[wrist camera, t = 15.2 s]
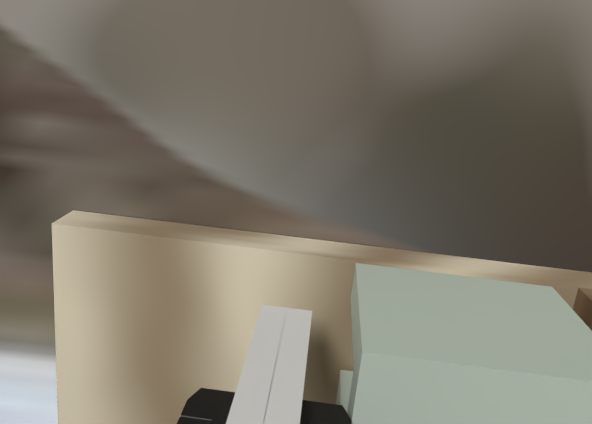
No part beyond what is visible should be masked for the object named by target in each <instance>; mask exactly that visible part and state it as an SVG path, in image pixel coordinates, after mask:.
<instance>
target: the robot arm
mask: <svg viewBox="0 0 592 424" xmlns="http://www.w3.org/2000/svg"><path fill="white" fill-rule="evenodd" d="M311 317H312V311H310V310H302V309H294V308H286V307H278V306H270V305H262V308H261V311H260V314H259V317H258V321H257V324H256V327H255V330H254V334H253V337H252V340H251V343H250V347H249V350H248V353H247V356H246V360H245V363H244V366H243V369H242V373H241V376H240V379H239V382H238V386H237V389H236V392H229V391H222V390H214V389H207V388H200V389H199V390H198V391H197V392H196V393H194V394H193V395H192V396H191V397H190V398H188V399H187V401H186V404H185V406H184V408H183V411H182V413H181V417H179V420H178V422H177V424H351V419H350V417H349V415H348V414H347V412H346V410H345V409H344V407H343V405H337V404H329V403H322V402H314V401H307V400H302V399H303V390H304V381H305V372H306V363H307V354H308V345H309V336H310V327H311Z"/></svg>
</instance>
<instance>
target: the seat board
mask: <svg viewBox="0 0 592 424" xmlns="http://www.w3.org/2000/svg"><path fill="white" fill-rule="evenodd" d="M52 246H53V278H54V309H55V341H56V372H57V404H58V424H177V422H178V420H179V417H181V413H182V411H183V408H184V406H185V404H186V401H187V399H188V398H190V397H191V396H192V395H193V394H194V393H196V392H197V391H198V390H199V389H200V388H207V389H214V390H222V391H229V392H236V389H237V386H238V382H239V379H240V376H241V373H242V369H243V366H244V363H245V360H246V356H247V353H248V350H249V347H250V343H251V340H252V337H253V334H254V330H255V327H256V324H257V321H258V317H259V314H260V311H261V308H262V305H270V306H278V307H286V308H294V309H302V310H310V311H312V317H311V327H310V336H309V345H308V354H307V363H306V372H305V381H304V390H303V399H302V400H307V401H314V402H322V403H329V404H336V397H337V390H338V383H339V376H340V370H346V371H354V363H353V341H352V319H351V292H352V285H353V277H354V270H355V263H361V264H369V265H377V266H385V267H394V268H402V269H410V270H418V271H427V272H435V273H443V274H451V275H459V276H468V277H476V278H484V279H492V280H501V281H509V282H517V283H525V284H534V285H542V286H550V287H553V288H554V289H555V290H556V291H557V292H558V294H559V295H560V296H561V297H562V298H563V299H564V300H565V301H566V303H567V304H568V305H569V306H570V307H571V308H572V309H573V310H574V312H575V313H576V314H577V315H578V316H579V317H580V318H581V319H582V320H583V322H584V323H585V324H586V325H587V326H588V327H589V328H590V329H591V331H592V273H590V272H582V271H574V270H566V269H557V268H548V267H541V266H532V265H523V264H516V263H507V262H498V261H491V260H482V259H473V258H466V257H457V256H448V255H441V254H432V253H424V252H416V251H407V250H399V249H391V248H382V247H374V246H366V245H357V244H349V243H341V242H332V241H324V240H316V239H308V238H299V237H291V236H283V235H274V234H266V233H258V232H249V231H241V230H233V229H224V228H216V227H208V226H199V225H191V224H183V223H174V222H166V221H158V220H149V219H141V218H133V217H124V216H116V215H108V214H99V213H91V212H83V211H74V210H73V211H72V212H70V213H68V214H67V215H65V216H63V217H62V218H60V219H59V220H57V221H55V222H54V223H52Z"/></svg>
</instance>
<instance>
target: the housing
mask: <svg viewBox="0 0 592 424" xmlns="http://www.w3.org/2000/svg"><path fill="white" fill-rule="evenodd" d="M351 319H352V341H353V363H354V371H346V370H340V376H339V383H338V390H337V397H336V404H337V405H343V407H344V409H345V410H346V412H347V414H348V415H349V417H350V419H351V424H592V331H591V329H590V328H589V327H588V326H587V325H586V324H585V323H584V322H583V320H582V319H581V318H580V317H579V316H578V315H577V314H576V313H575V312H574V310H573V309H572V308H571V307H570V306H569V305H568V304H567V303H566V301H565V300H564V299H563V298H562V297H561V296H560V295H559V294H558V292H557V291H556V290H555V289H554V288H553V287H550V286H542V285H534V284H525V283H517V282H509V281H501V280H492V279H484V278H476V277H468V276H459V275H451V274H443V273H435V272H427V271H418V270H410V269H402V268H394V267H385V266H377V265H369V264H361V263H355V270H354V277H353V285H352V292H351Z"/></svg>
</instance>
